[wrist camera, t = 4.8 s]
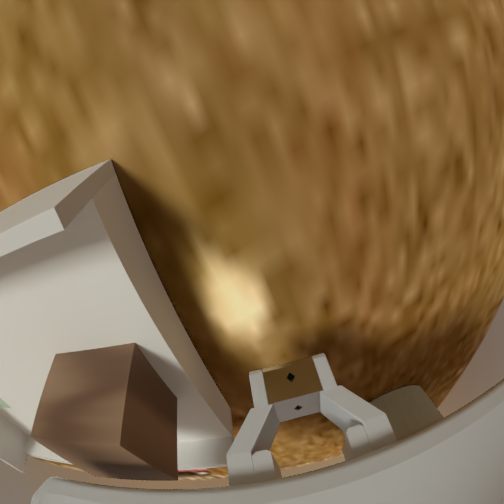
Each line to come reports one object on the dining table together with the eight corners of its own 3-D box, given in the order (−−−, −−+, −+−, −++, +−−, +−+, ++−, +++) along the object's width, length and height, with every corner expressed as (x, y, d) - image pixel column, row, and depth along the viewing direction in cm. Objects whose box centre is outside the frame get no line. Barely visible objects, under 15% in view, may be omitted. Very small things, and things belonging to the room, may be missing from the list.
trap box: (110, 158, 9) (9, 253, 4) (230, 408, 18) (241, 491, 13) (-86, 273, 9) (-127, 330, 4) (33, 416, 18) (20, 471, 13)
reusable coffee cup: (302, 426, 22) (341, 573, 9) (431, 354, 19) (507, 499, 7) (348, 445, 28) (380, 545, 15) (440, 394, 26) (487, 492, 13)
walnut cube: (134, 342, 11) (119, 445, 7) (177, 398, 13) (177, 480, 9) (55, 353, 11) (29, 436, 7) (104, 404, 13) (95, 476, 9)
